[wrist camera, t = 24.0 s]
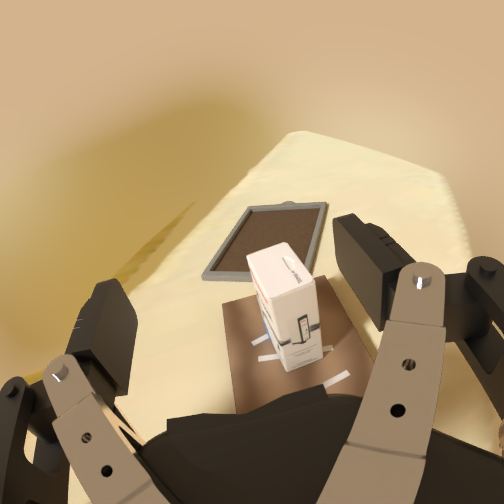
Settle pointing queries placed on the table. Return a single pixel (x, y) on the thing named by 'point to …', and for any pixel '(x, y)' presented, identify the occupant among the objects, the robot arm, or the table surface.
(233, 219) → the table surface
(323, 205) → the grey framed brown panel
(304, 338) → the ink box
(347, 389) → the walnut board
